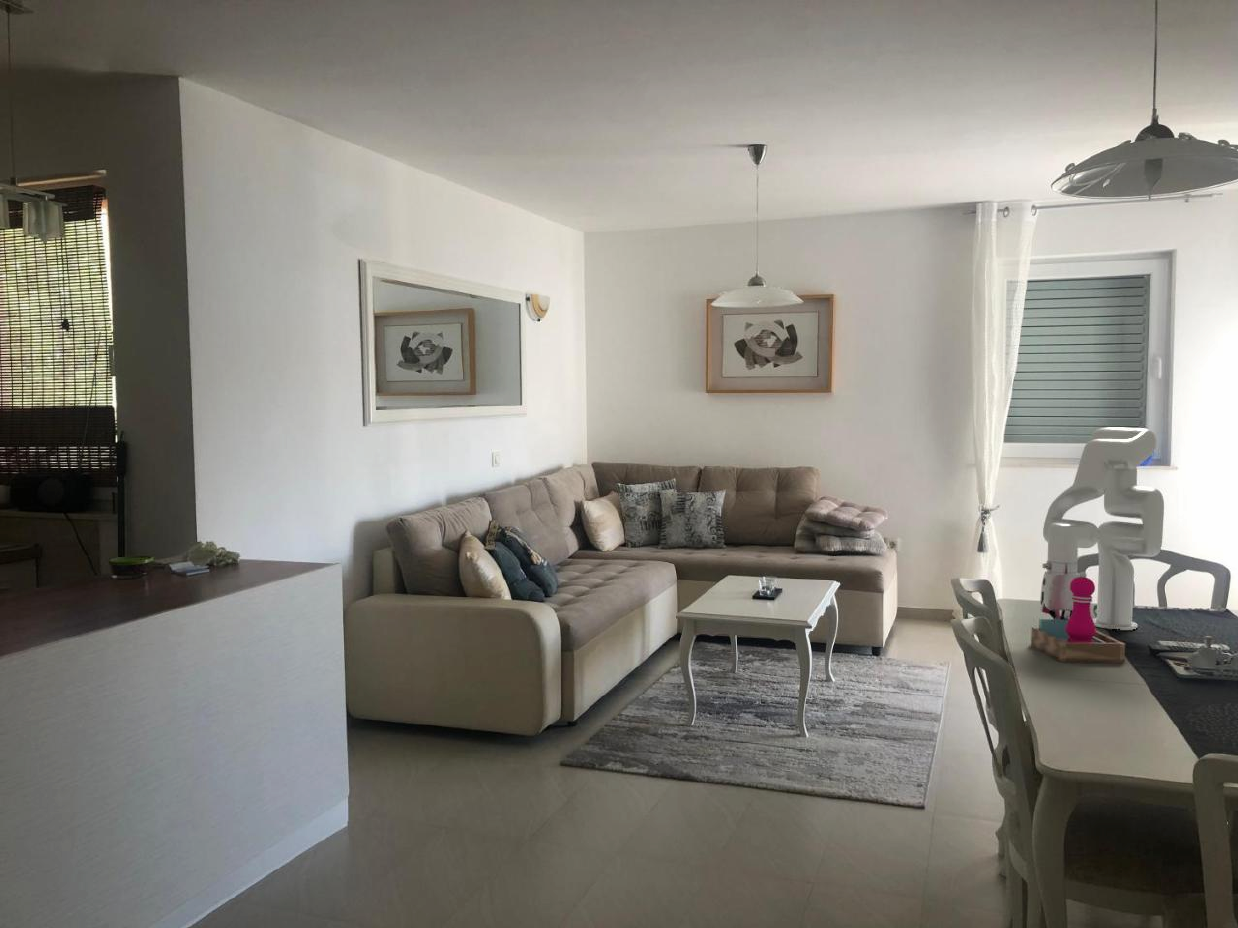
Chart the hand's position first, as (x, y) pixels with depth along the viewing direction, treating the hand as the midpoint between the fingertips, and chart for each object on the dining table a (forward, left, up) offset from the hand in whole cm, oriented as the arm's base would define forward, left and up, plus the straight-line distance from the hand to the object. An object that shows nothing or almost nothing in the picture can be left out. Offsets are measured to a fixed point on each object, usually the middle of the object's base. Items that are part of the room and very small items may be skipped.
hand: (1059, 633), depth 273 cm
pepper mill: (+12, 0, -1) cm, 12 cm away
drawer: (+10, 0, -2) cm, 10 cm away
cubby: (+11, 0, -3) cm, 11 cm away
